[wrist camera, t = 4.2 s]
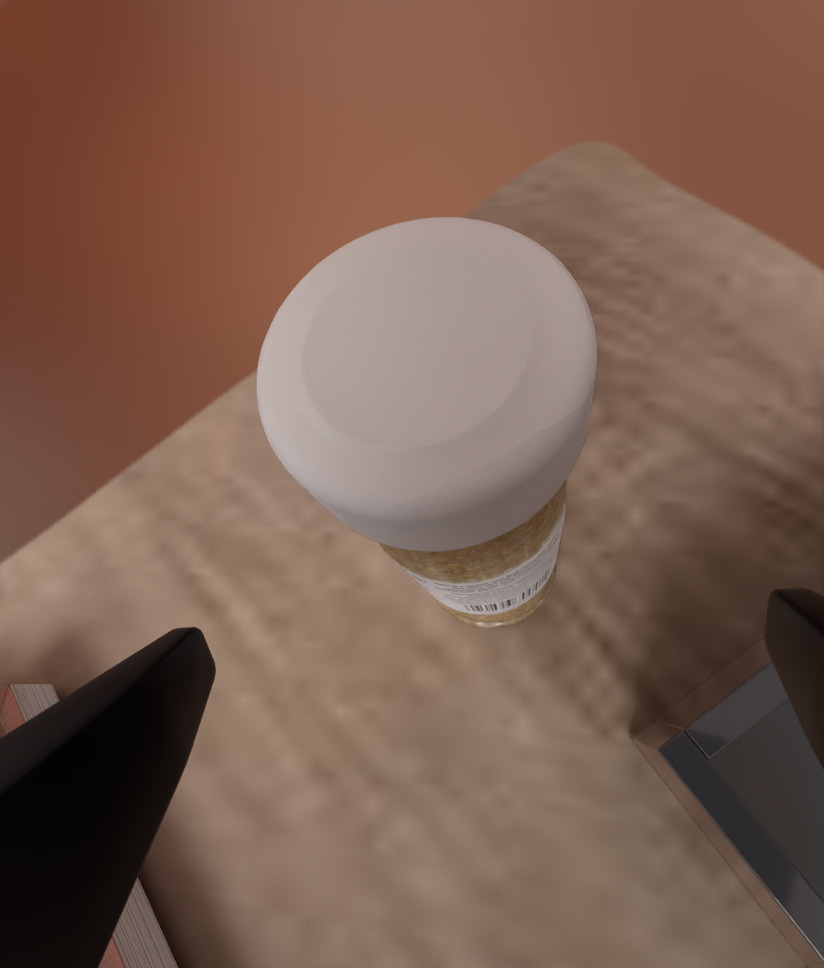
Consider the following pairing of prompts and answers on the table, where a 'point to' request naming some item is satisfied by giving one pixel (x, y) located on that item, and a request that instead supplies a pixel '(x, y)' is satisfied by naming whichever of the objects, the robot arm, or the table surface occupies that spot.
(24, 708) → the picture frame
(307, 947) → the table surface
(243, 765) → the table surface
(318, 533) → the table surface
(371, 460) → the spice jar
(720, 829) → the sink
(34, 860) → the robot arm
